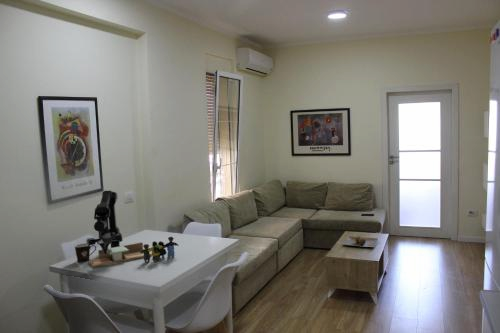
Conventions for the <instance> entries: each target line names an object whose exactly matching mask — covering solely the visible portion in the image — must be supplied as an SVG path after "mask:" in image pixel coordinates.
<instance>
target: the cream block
mask: <svg viewBox="0 0 500 333" xmlns="http://www.w3.org/2000/svg"><path fill="white" fill-rule="evenodd" d="M112 260H113V261H117V260H122V252H120V253H115V254H112Z"/></svg>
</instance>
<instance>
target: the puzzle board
mask: <svg viewBox="0 0 500 333" xmlns="http://www.w3.org/2000/svg"><path fill="white" fill-rule="evenodd" d="M143 245H144V244H143V242H135V243H129V244H125V245H123V246H124V247H125V248H127V249H129V251H125V252H122V260H117V261H113V260H112V254H109V253H107V252H106V254H104V252H103V250H102V249H98V250H97V251H98V258H94V259H89V261H88V264H89V265H90V266H91V267H92V268H93V269H98V268H102V267H107V266H111V265H117V264H121V263H127V262H132V261H137V260H141V259H144V253H140V251H142V250H143V249H144V247H143ZM120 246H121V245H120ZM120 246H119V247H120ZM113 248H115V247H113ZM149 254H150V258H153V256H151V255H152V253H151V252H149Z"/></svg>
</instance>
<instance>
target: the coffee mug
mask: <svg viewBox="0 0 500 333" xmlns="http://www.w3.org/2000/svg"><path fill="white" fill-rule="evenodd" d="M92 247H94V248H95V249H94V250H93V251H92V252H91V253H90V250H91V248H92ZM74 250H75V255H76V261H77V262H78V263H86V262H89V260H90V257H91V256H92V255H93V254H94V253H95V252H96V251H97V246H96V244H95V245H88V244H87V243H86V242H85V243H78V244H75V245H74Z"/></svg>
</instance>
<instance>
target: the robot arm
mask: <svg viewBox="0 0 500 333" xmlns="http://www.w3.org/2000/svg"><path fill="white" fill-rule="evenodd" d="M117 202H118V193H117V192H115V191H112V190H103V191H102V193H101V199H100V203H99V204H97V205H96V207H95V208H94V216H93V219H94V220H96V222H95V223H94V225H93V229H94V230H95V231H96V232H98V238H94V237H90V238H87V239H86V242H85V243H87V244H88V245H90V246H92V245H95V246H96V244H97V245H98V246H100V248H101V250H103V252H104V254H106V252H107V249H108V248H109V246H110V248H113V247H119V246H121V244H120V243H121V242H123V235H122V232H120V231H121V230H120V228H119V227H118V226H117V217H116V216H117V215H116V207H115V205H116V203H117Z"/></svg>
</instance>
